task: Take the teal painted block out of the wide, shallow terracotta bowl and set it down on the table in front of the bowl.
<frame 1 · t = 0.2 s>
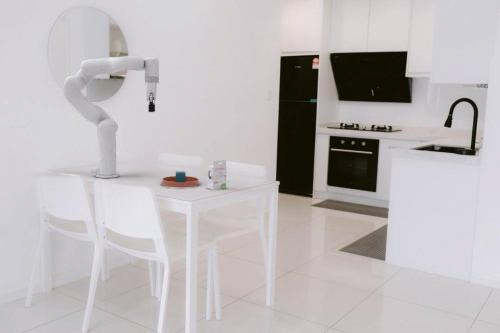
hand: (151, 111, 261), 37 cm above the table, tool pointing down, fingers open, 9 cm apart
ink box: (216, 189, 239), on the table
block: (180, 183, 246), point 1 cm above the table, touching bowl
bowl: (180, 184, 246), on the table
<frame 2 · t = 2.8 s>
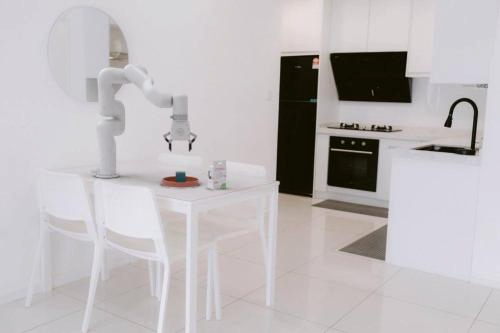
hand: (180, 151, 244), 18 cm above the table, tool pointing down, fingers open, 9 cm apart
nothing on the table moved.
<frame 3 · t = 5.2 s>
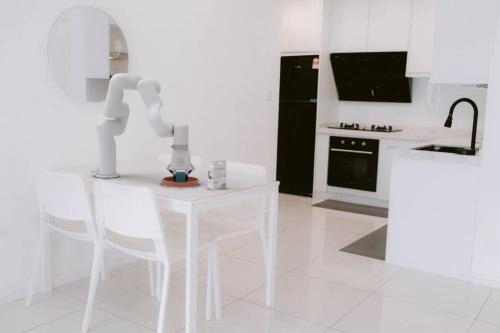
hand: (180, 182, 246), 1 cm above the table, tool pointing down, fingers closed on block, 5 cm apart
block: (180, 183, 246), point 1 cm above the table, touching bowl, gripper
everything else where it was.
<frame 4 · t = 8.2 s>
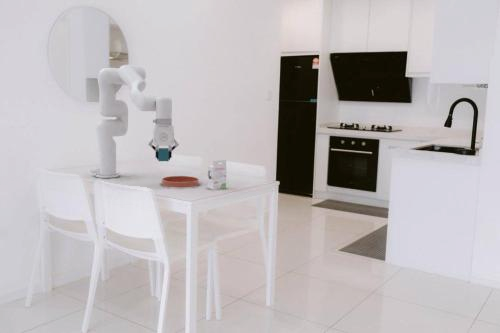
hand: (163, 158, 232), 15 cm above the table, tool pointing down, fingers closed on block, 5 cm apart
block: (163, 160, 232), point 14 cm above the table, touching gripper
everything else where it was.
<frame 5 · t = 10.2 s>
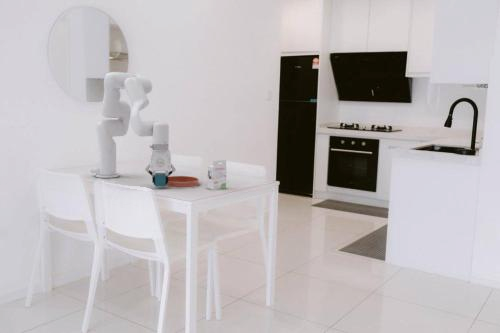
hand: (160, 183, 232), 3 cm above the table, tool pointing down, fingers closed on block, 5 cm apart
block: (160, 185, 232), point 2 cm above the table, touching gripper
everything else where it was.
when the fingers open (1 cm above the table, at t = 11.3 s): block stays where it is, on the table.
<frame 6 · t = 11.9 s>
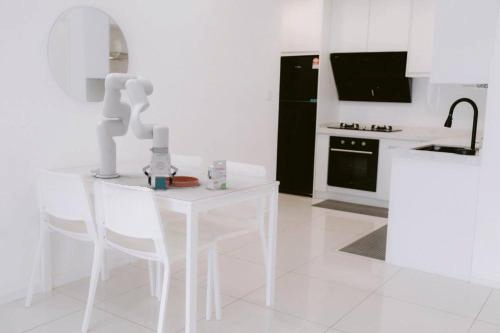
hand: (160, 185, 232), 2 cm above the table, tool pointing down, fingers open, 9 cm apart
block: (160, 189, 232), on the table
everything else where it was.
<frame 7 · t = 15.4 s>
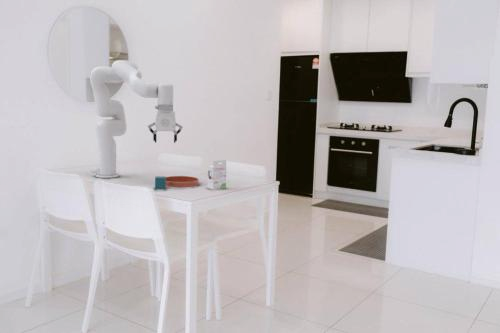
hand: (165, 142, 239), 22 cm above the table, tool pointing down, fingers open, 9 cm apart
nothing on the table moved.
at the end: block inside the target area (0.1 cm from its centre), on the table; block touching table; block tilted 0° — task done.
